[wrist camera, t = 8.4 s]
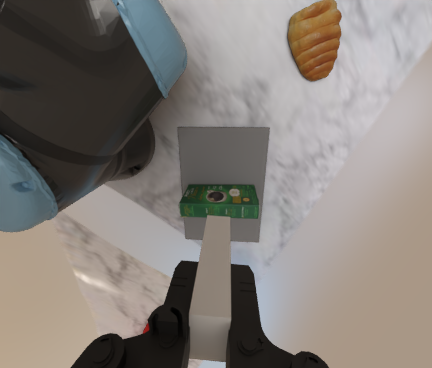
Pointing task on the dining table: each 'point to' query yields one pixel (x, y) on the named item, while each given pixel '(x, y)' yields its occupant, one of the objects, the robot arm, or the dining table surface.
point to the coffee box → (220, 201)
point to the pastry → (315, 38)
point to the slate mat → (224, 169)
